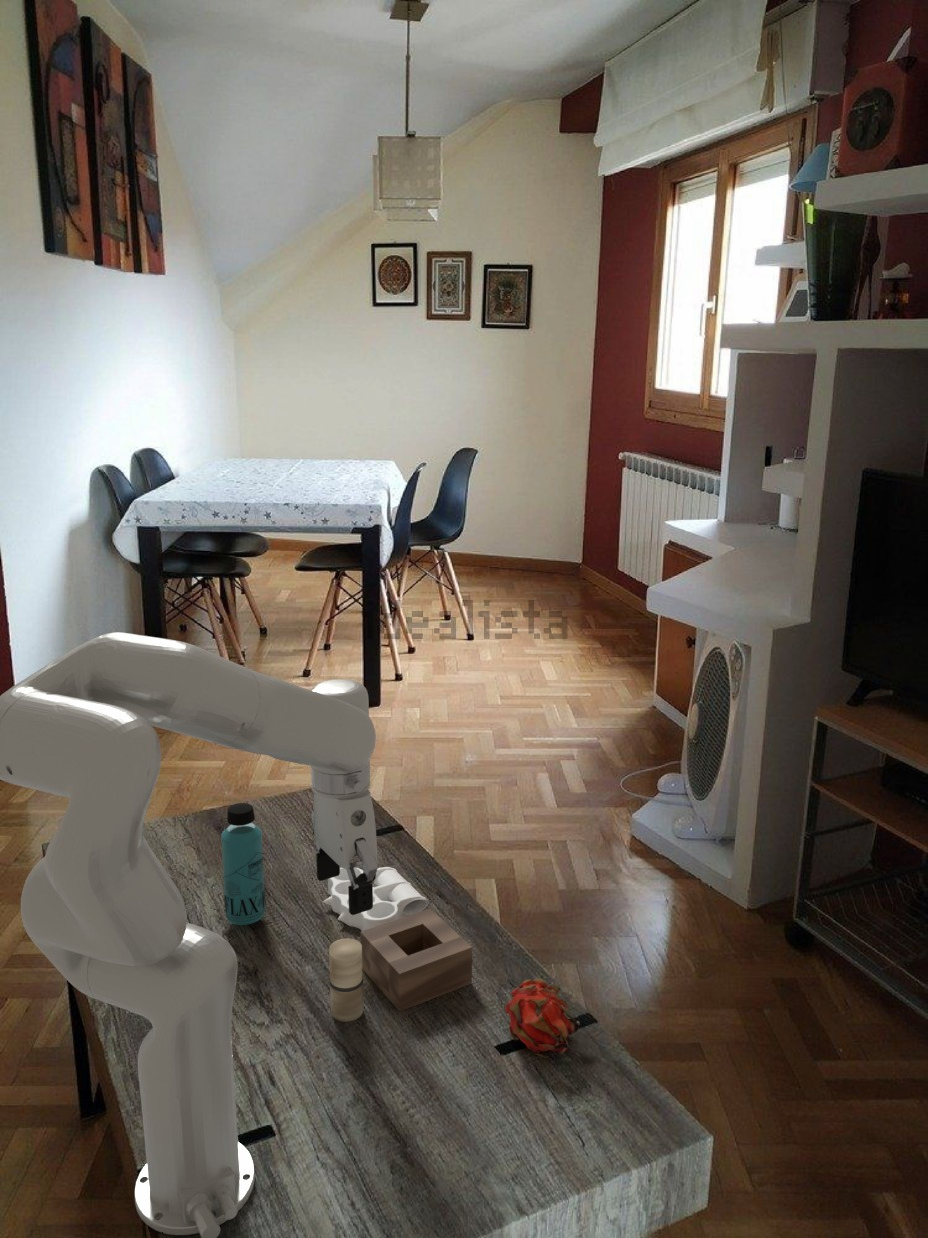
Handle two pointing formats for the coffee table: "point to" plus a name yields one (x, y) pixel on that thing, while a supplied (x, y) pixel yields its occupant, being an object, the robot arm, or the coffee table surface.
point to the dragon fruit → (540, 1017)
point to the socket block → (416, 958)
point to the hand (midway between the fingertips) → (344, 894)
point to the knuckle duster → (376, 899)
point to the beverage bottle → (243, 867)
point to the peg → (346, 979)
